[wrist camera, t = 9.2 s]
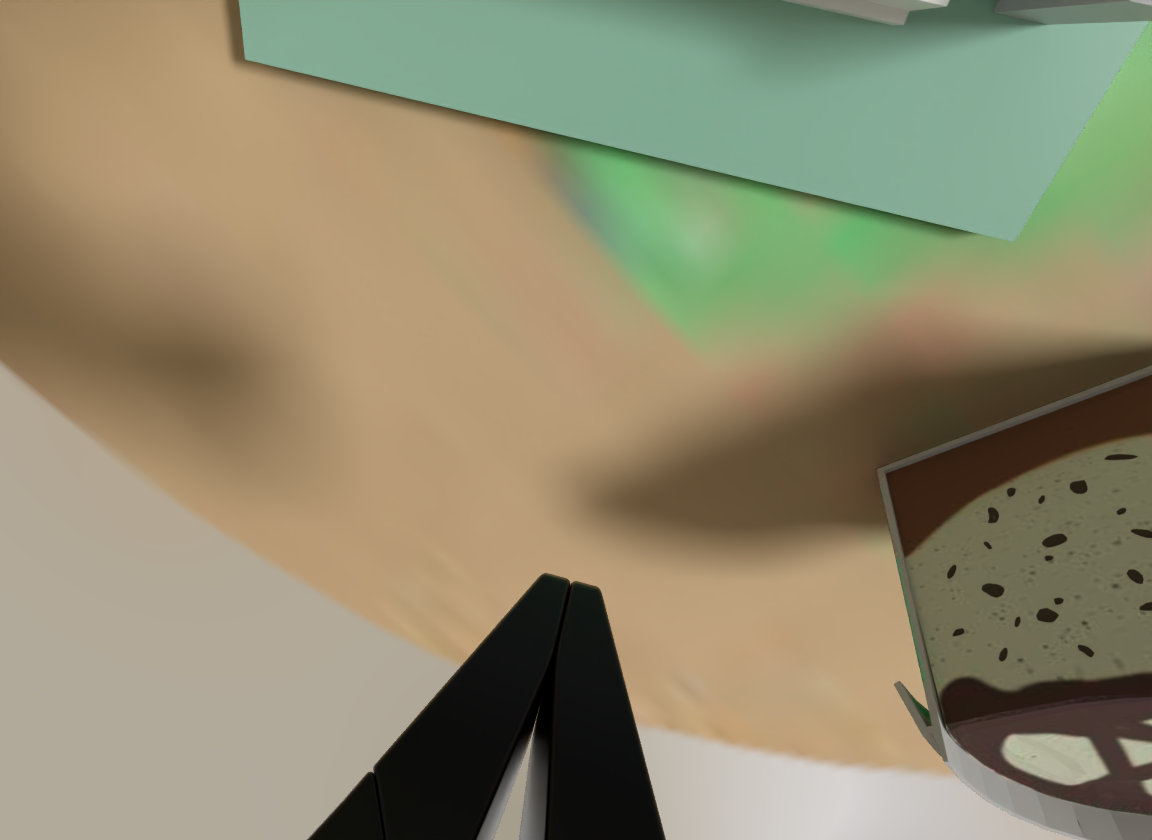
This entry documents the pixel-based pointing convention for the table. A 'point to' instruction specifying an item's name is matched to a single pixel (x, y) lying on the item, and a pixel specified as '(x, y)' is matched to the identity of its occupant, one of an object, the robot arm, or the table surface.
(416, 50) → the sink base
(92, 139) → the table surface
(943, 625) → the food container
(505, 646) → the robot arm
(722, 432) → the table surface
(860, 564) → the table surface
